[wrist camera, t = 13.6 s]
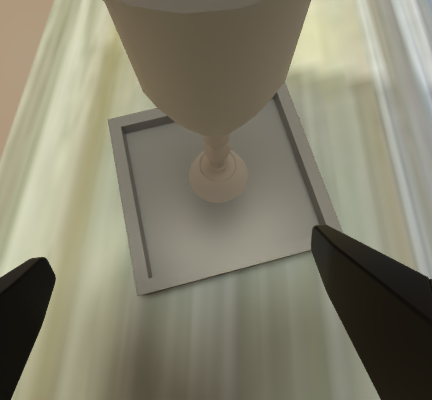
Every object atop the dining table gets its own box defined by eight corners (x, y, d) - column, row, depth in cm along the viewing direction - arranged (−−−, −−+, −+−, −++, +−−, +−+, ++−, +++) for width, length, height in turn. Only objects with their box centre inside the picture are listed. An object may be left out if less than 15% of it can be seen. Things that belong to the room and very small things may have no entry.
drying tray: (335, 243, 23) (345, 240, 21) (144, 294, 22) (137, 296, 20) (279, 92, 27) (283, 78, 25) (116, 131, 26) (107, 119, 24)
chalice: (199, 229, 22) (123, 70, 5) (162, 162, 24) (7, -131, 7) (275, 187, 23) (434, -77, 6) (234, 125, 25) (263, -223, 8)
